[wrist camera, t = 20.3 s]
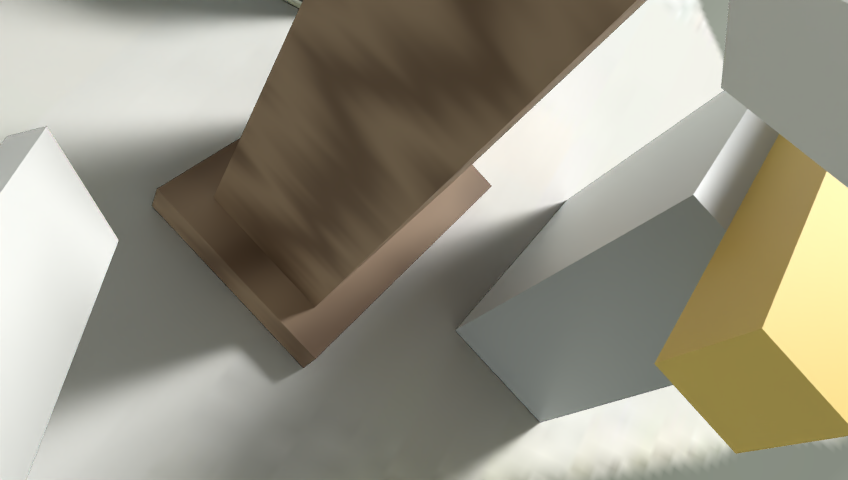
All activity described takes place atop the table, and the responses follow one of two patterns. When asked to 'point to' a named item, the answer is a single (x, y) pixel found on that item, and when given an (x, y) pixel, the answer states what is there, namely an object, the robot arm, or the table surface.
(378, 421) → the table surface
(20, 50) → the table surface
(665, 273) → the grey slab
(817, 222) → the block
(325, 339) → the stand
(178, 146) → the table surface
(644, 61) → the table surface
